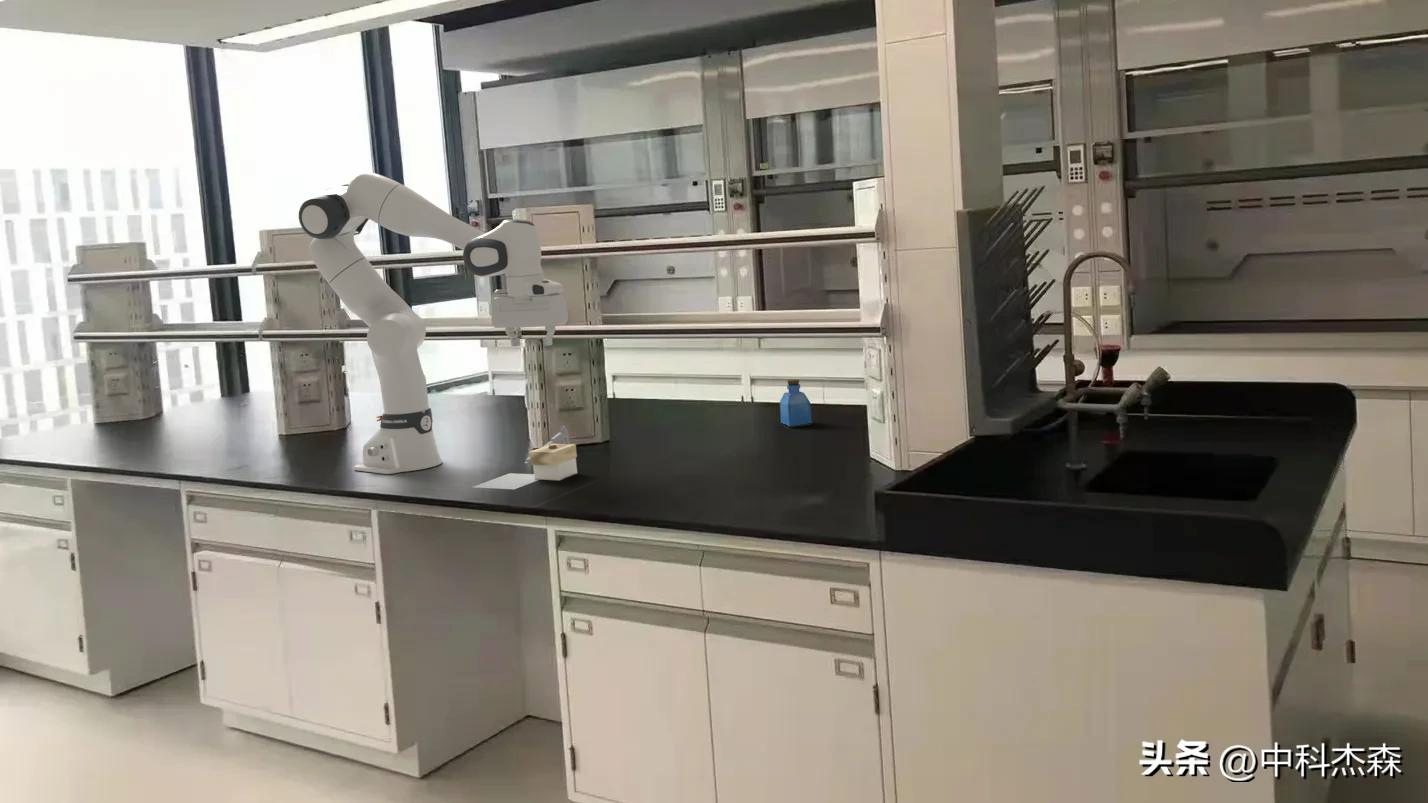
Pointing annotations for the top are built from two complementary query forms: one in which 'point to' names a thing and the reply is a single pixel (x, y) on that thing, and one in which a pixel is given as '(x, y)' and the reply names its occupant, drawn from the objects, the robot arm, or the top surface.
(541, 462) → the lid
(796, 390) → the perfume bottle
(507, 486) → the mat
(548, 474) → the dish
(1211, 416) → the top surface
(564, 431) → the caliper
